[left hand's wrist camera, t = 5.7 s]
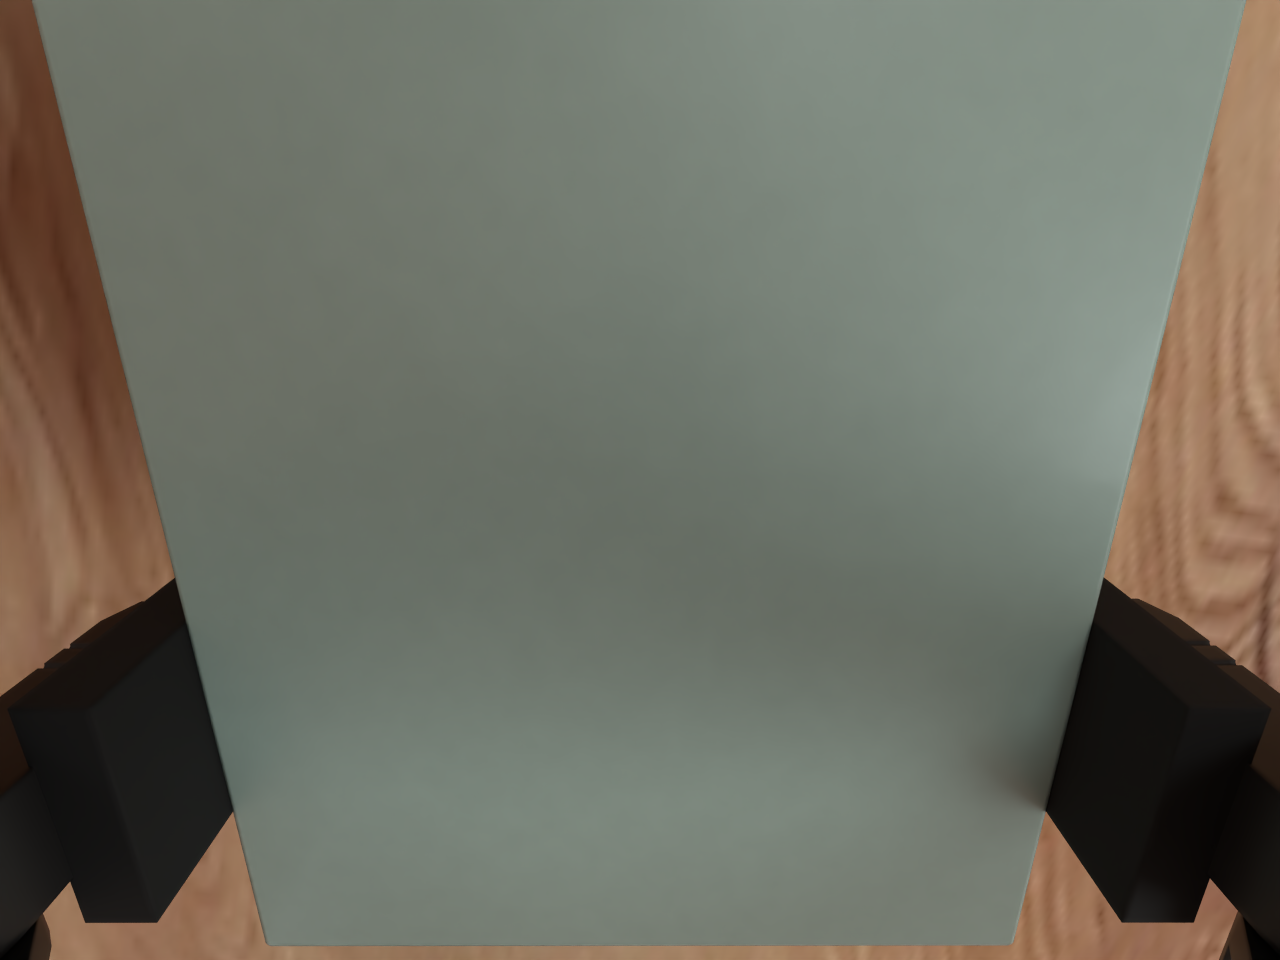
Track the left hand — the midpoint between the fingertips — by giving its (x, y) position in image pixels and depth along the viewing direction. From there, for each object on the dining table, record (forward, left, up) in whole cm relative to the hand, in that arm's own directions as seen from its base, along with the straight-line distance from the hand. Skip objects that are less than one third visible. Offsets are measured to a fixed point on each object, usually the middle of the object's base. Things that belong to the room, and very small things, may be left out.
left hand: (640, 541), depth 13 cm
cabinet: (+2, +5, -6) cm, 8 cm away
